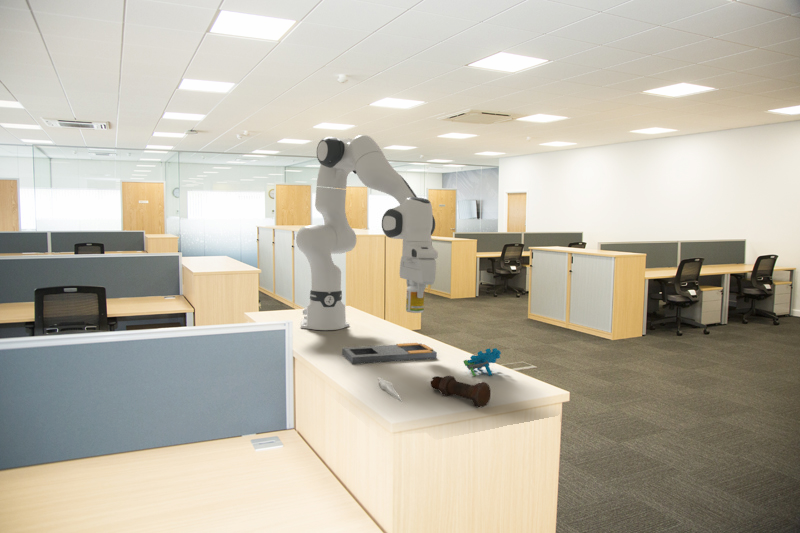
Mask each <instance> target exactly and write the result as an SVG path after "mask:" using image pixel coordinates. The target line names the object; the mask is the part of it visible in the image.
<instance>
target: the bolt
mask: <svg viewBox="0 0 800 533" xmlns="http://www.w3.org/2000/svg"><path fill="white" fill-rule="evenodd" d="M430 386H431V388H432V389H433V390H436V391H439V392H440V393H441V395H442V396H445V397H450V396H453V395H454V396H457V397H461V398H464V399H467V400H470V401H471V402H472V404H473V406H474V407H476V408H483V407H486V406H487V404H489V402H490V400H491V388H490V385H489V384H488V383H487V382H485V381H481V382H478V383H475V384H469V383H466V382H462V381H457V380H456V378H455V377H454V376H452V375H445V376H434V377H432V378H431V380H430Z"/></svg>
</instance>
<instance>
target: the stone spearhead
mask: <svg viewBox="0 0 800 533" xmlns="http://www.w3.org/2000/svg"><path fill="white" fill-rule="evenodd" d="M377 380H378V381H379V383H378V385H379V386H380V388H381V390H382V391H385V392H387V394H389V395H390V394H391V395H390V396H392V397H393V398H395V399H397V400H398V401H399V402H401V403H402V402H403V400H402V398H401V397H400V395H399V393H398V392H397V391H396V389H395V388H394V387H393V384H392V382H390V381H388V380H385V379H384V378H382V377H381V376H380V377H378V379H377Z"/></svg>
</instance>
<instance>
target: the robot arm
mask: <svg viewBox="0 0 800 533" xmlns="http://www.w3.org/2000/svg"><path fill="white" fill-rule="evenodd" d="M316 158H317V161H318V162H319V164H320V166H319V169H318V173H317V179H316V190H315V203H314V204H315V205H314V206H315V209H316V211H317V212H318V213H320V214H321V215H322V217H323V221H324V223H323V224H310V225H305V226H302V227H301V228H299V230H298V231H297V233H296V236H295V238H296V239H295V242H296V246H297V248H298V250H299V251H300V252H302V253H303V254H304V256H305V257H306V259H307V261H308V263H309V267H310V272H311V274H310V275H311V289H310V292H309V302H308V303H307V306H306V307H304V308H303V309H302V315H303V316H304V318H301V320H300V321H301V322H300V328H301V329H309V330H316V331H335V330H342V329H343V328H348V327H350V323H349V322H347V319H346V316H347V315H346V305H345V304H344V302H342V298H343V294H342V293H343V292H342V291H343V290H342V286H341V285H342V283H341V282H342V271H341V269H340V268H339V266H337V265H336V264H335V263H334V261H333V259H332V255H333V254H334V255H335V254H336V255H337V254H339V255H341V254H345V253H348V252H350V251H353V249H354V248H355V247H356V244H357V234H356V232H355V230H354V229H353V228H352V227H351V226H350V223H349V221H348V218H347V214H346V197H347V184H348V183H347V181H348V175H349V174H350V173H352V172H353V173H354V174H355V175H357V177H358V179H359V180H360V181H361V183H362V184H363V185H364V186H366V187H367V188H369V189H371V190H375V191H378V192H381V193H384V194H387V195H388V196H390V197H392V198H393V199H395V200H396V201H397V202H398V204H399V205H397V206H395V207H392V208H389V209H387V210H386V211H385V212H384V214H383V216H382V219H381V228H382V231H383V234H384V235H385V236H386V237H388V238H390V239H394V240H402V252H401V253H402V256H401V257H400V262H399V278H400V279H403V280H406V281H405V282H406V289H407V288H408V287H409V286H410V285H409V280H412V281H413V282H416V283H417V286H418V290H417V292H416V297H417V298H423V293H424V294H425V290H426V287H427V286H426V285H429V286H430V285H431V286H432V285H434V283H435V281H436V274H437V261H436V259H438V251H437V250H436V249H435V247H434V246H433V244H432V243H433V238H432V235H434V234H433V233H434V232H435V230H436V220H435V217H434V215H433V206H432V203H431V201H430V200H429V199H427V198H423V197H418V196H417V195H416V193H415V192H414V190H413V189H412V188H411V186H410V185H409V183H408V182H407V181H406V179H404V177H403V176H402V175H400V174H399V172H398V171H397V170H395V169H394V167H393V166H392V165H391V164H390V162H389V161H388V159H387V157H386V156H385V154H384V152H383V151H382V149H381V148H380V146H379V145H378V143H377V142H376V140H374V139H373V137H371V136H369V135H367V134H366V135H365V134H361V135H360V134H359V135H357V136H355V137H353V138H343V137H335V136H327V137H324V138H323V137H322V138H321V140H320V141H319V142H318V144H317V148H316Z"/></svg>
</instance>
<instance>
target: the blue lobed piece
mask: <svg viewBox="0 0 800 533" xmlns="http://www.w3.org/2000/svg"><path fill="white" fill-rule="evenodd" d="M484 351H485V352H483V351H482V350H480V351H477V355H475V354H472V355H471V356H470V359H464V360H463V364H464V366H465V367H466V368H467V369H468V370H469V371H470V372H471V374H472V377H476V375H477V374H476V372H475V370H476V369H477V370H478V369H479V370H481V369H483V368H485V370H486V373H487V375H488V376H489V377H491V376H493V373H492V370H491V368H490V364H495V363H496V362H497V359H501V354H502V353H501V350H500V349H498V348H494V347H493V348H492V349H491V348H487V349H485V350H484ZM490 375H491V376H490Z"/></svg>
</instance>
